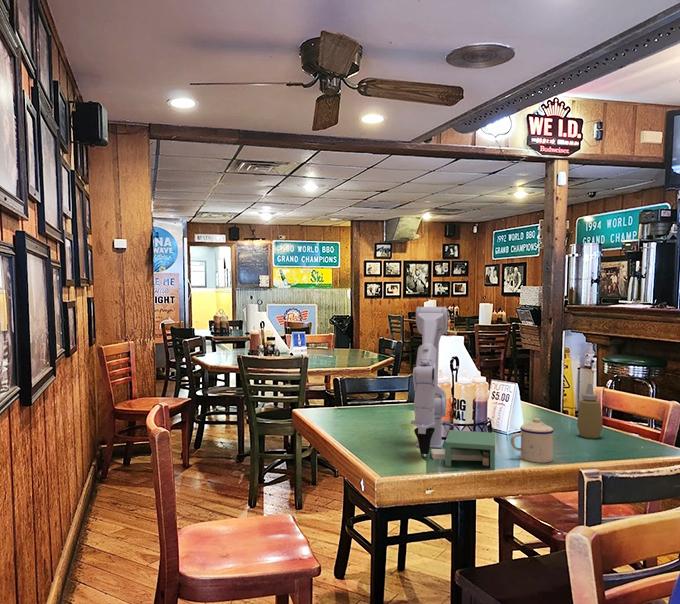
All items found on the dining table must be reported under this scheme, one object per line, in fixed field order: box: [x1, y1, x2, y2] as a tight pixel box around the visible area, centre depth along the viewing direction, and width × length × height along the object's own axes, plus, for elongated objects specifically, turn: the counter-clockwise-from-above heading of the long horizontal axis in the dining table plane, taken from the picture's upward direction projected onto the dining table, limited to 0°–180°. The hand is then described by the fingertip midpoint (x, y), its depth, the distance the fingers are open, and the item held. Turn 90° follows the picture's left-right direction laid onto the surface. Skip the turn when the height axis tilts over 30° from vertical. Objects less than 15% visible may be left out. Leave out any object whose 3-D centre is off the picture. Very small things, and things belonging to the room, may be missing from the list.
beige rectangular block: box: [430, 448, 483, 462], centre depth 160 cm, size 6×14×2 cm, turn 86°
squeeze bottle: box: [576, 383, 604, 439], centre depth 187 cm, size 8×8×18 cm
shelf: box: [444, 429, 496, 471], centre depth 157 cm, size 16×13×6 cm
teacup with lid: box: [510, 417, 554, 464], centre depth 159 cm, size 12×9×12 cm
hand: (424, 453), depth 160 cm, fingers closed
